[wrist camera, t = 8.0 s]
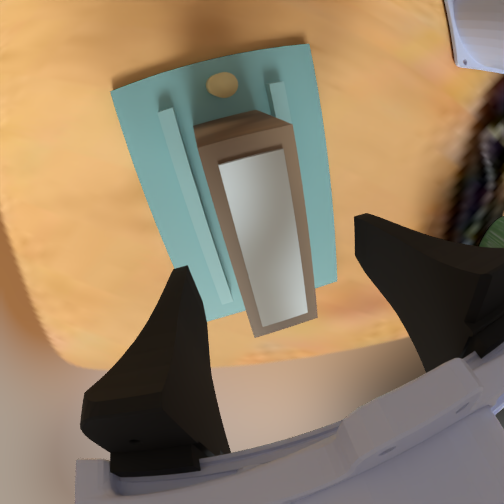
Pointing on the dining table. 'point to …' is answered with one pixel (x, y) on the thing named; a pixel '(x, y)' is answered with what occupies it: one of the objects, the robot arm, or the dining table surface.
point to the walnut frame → (261, 215)
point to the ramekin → (494, 235)
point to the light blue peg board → (190, 167)
